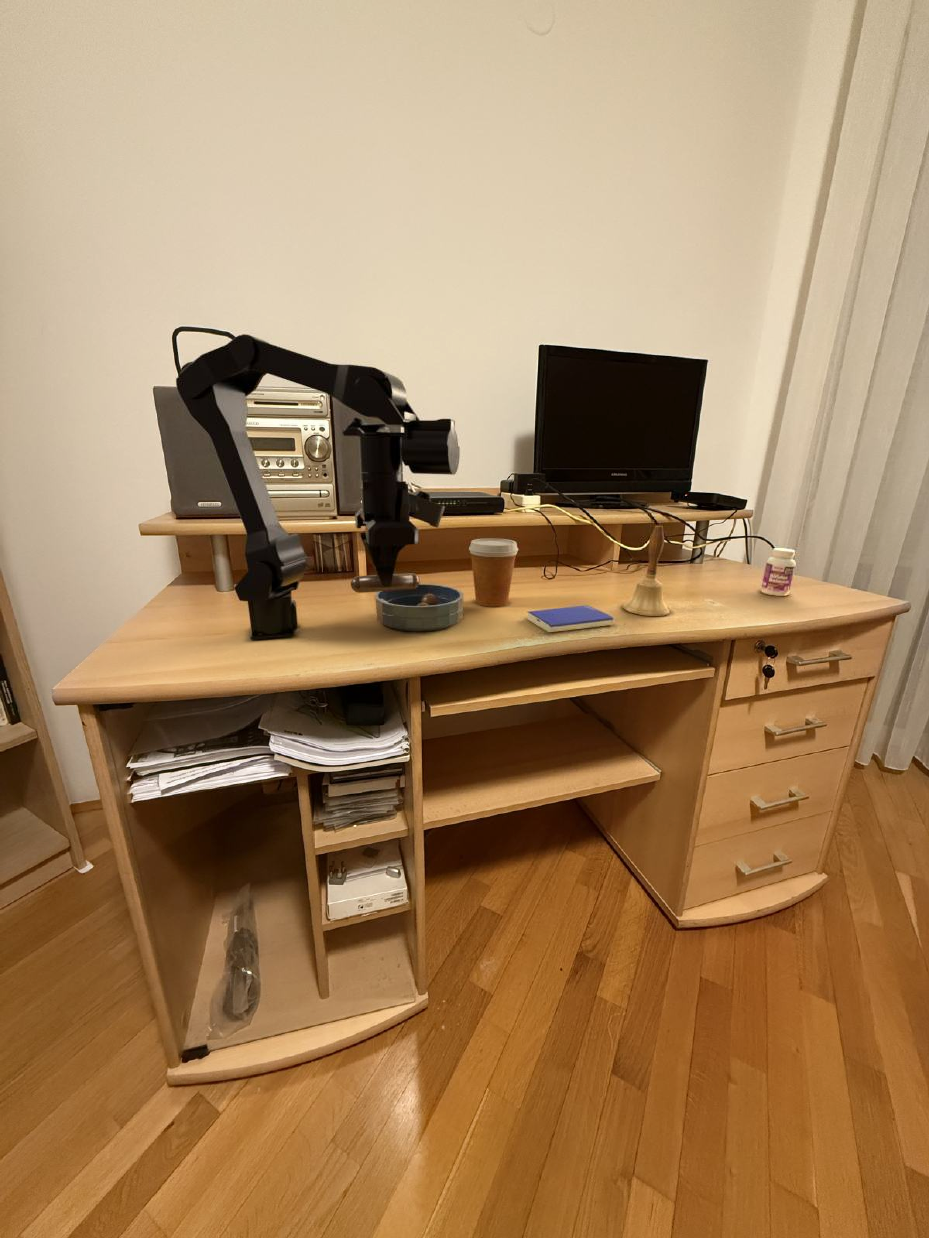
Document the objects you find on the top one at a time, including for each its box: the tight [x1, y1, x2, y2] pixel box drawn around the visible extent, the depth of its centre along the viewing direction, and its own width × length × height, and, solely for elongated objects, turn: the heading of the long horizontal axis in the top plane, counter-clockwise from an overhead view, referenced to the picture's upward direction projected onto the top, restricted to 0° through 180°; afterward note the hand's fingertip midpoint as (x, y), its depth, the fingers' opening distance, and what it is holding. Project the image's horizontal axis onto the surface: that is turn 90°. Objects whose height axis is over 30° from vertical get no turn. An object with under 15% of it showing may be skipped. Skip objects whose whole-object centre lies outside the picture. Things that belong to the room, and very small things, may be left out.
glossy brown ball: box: [421, 594, 438, 606], centre depth 88 cm, size 3×3×3 cm
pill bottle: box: [760, 547, 797, 597], centre depth 106 cm, size 5×5×10 cm
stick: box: [350, 572, 421, 594], centre depth 71 cm, size 10×2×2 cm, turn 107°
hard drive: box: [526, 604, 614, 633], centre depth 86 cm, size 2×8×12 cm
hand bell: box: [622, 525, 670, 617], centre depth 91 cm, size 8×8×16 cm
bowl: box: [373, 583, 464, 632], centre depth 85 cm, size 15×15×4 cm
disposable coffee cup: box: [468, 537, 520, 608], centre depth 95 cm, size 10×10×12 cm
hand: (385, 584), depth 71 cm, fingers closed on stick, 2 cm apart
